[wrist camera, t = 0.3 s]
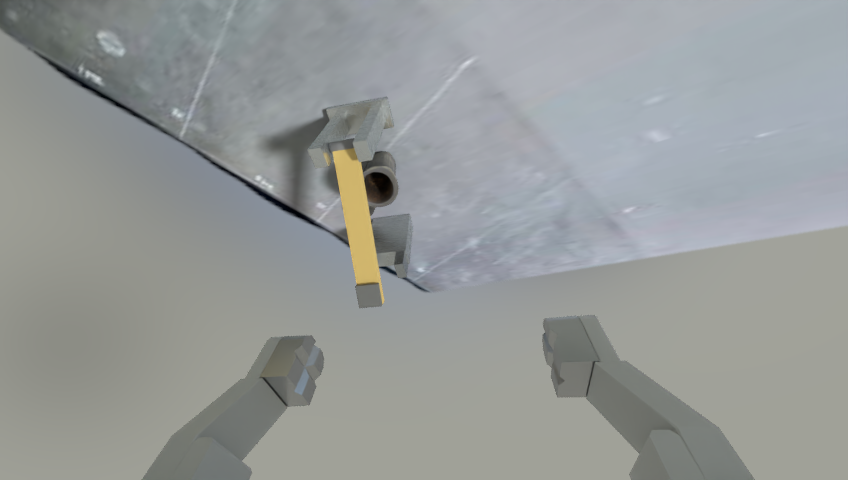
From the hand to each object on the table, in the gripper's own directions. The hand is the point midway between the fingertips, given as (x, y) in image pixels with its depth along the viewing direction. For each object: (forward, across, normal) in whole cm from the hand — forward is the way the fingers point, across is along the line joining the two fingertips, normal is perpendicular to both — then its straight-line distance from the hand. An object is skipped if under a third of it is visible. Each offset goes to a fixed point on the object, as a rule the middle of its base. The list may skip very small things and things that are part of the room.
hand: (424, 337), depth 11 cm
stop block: (+42, +12, +19) cm, 48 cm away
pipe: (+41, +12, +9) cm, 44 cm away
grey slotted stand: (+40, +12, -1) cm, 41 cm away
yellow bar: (+26, +12, +10) cm, 30 cm away
